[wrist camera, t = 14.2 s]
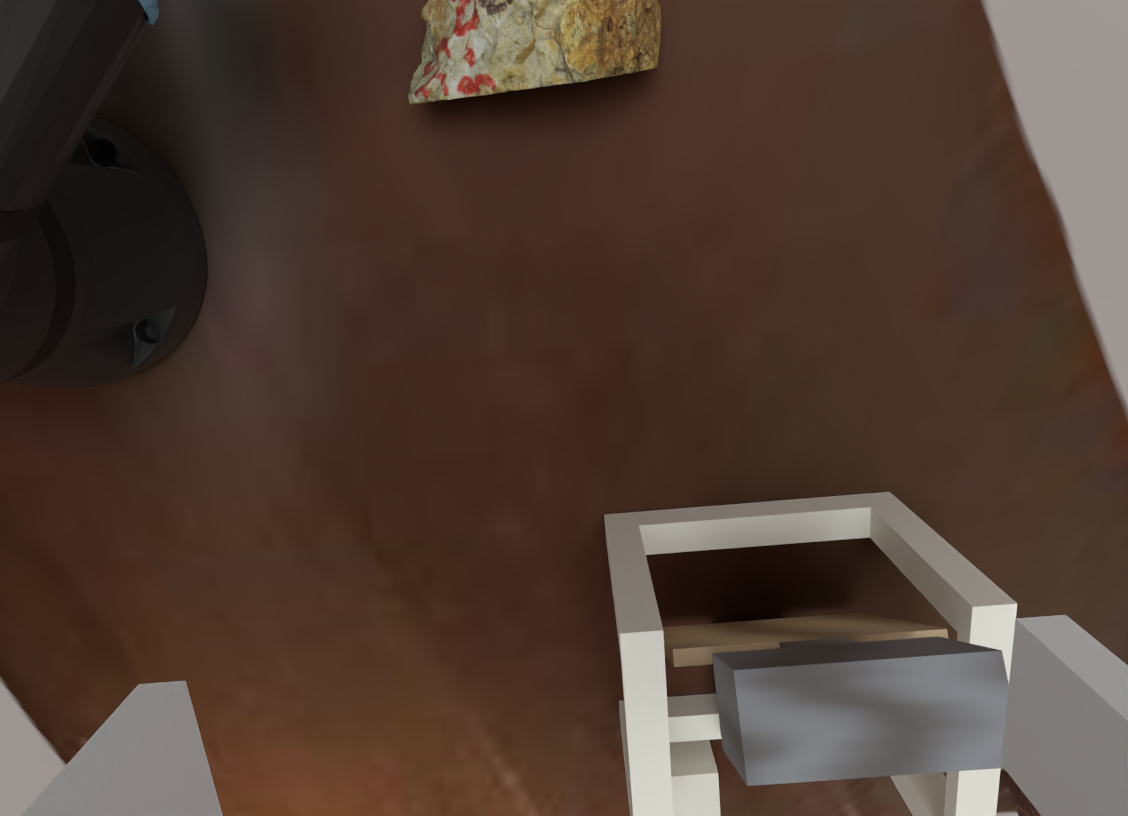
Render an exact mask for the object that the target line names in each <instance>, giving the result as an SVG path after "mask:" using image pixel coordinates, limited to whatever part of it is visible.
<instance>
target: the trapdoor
mask: <svg viewBox="0 0 1128 816" xmlns="http://www.w3.org/2000/svg"><path fill="white" fill-rule="evenodd" d="M663 634H664V653H665V655H666V657H667V658H668V659H669V661H670V662H671V663H672V665H673V666H674V667H682V666H695V665H709V664H713V668H714V677H715V685H716V694H717V703H718V711H719V720H720V729H721V737H722V746H723V751H724V752H725V754H726V755H727V757H728V758H729V760H730V761H731V762H732V764H733V765H734V767H735V768H736V770H737V771H738V773H739V774H740V776H741V777H742V779H743V780H744V782H745V783H746V784H747V786H753V785H768V784H782V783H796V782H811V781H825V780H839V779H854V778H868V777H882V776H897V775H911V774H925V773H940V772H954V771H968V770H982V769H997V768H1004V767H1003V766H1002V765H1001V757H1002V747H1003V737H1004V728H1005V718H1006V708H1007V698H1008V688H1009V683H1008V678H1007V673H1006V668H1005V663H1004V658H1003V653H1002V650H997V649H993V648H988V647H984V646H979V645H975V644H970V643H966V642H961V641H957V640H952V639H949V638H948V633H947V629H945V628H939V627H934V626H929V625H924V624H919V623H914V622H908V621H903V620H898V619H893V618H888V617H883V616H877V615H872V614H867V613H862V612H858V613H845V614H832V615H818V616H805V617H792V618H779V619H765V620H752V621H739V622H726V623H713V624H699V625H686V626H673V627H663Z"/></svg>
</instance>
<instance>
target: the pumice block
mask: <svg viewBox="0 0 1128 816" xmlns="http://www.w3.org/2000/svg"><path fill="white" fill-rule="evenodd" d="M669 743H670V761H671V780H672V798H673V816H720V799H719V781H718V771H717V767H716V763H715V760H714V756H713V752H712V748H711V745H710V741H709V740H697V741H683V742H669Z"/></svg>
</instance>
